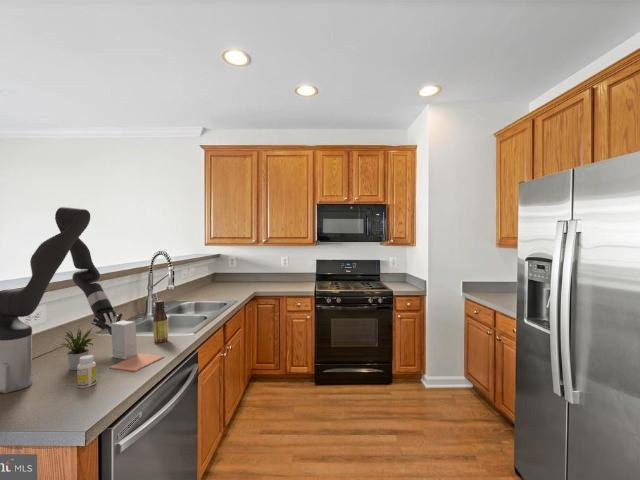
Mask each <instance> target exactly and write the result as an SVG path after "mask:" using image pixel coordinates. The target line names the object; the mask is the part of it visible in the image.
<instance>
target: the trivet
mask: <svg viewBox="0 0 640 480" xmlns="http://www.w3.org/2000/svg"><path fill="white" fill-rule="evenodd" d="M164 358H165V356H164V355H159V354H158V355H157V354H149V353H142V352H141V353H137V355H136V356H134V357H131V358H128V359H124V360H122V361H120V362H118V363H115V364H113V365H111V366H109V369H112V370H119V371H127V372H134V373H135V372H137V371H140V370H142V369H143V368H145V367H147V366H149V365H151V364H154V363H155V362H159V360H162V359H164Z"/></svg>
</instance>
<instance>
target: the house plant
mask: <svg viewBox="0 0 640 480" xmlns="http://www.w3.org/2000/svg"><path fill="white" fill-rule="evenodd" d="M80 328H81V325H79V327H78V328H77V333H76V338H75V337H74V335H73V332H72V331H71V330H69V329H65V332H64V333H65V334H63V333H62V332H60V334H61V335H62V336H64V337H63V339H64V340H66V342H67V343H68V344H67V343H66V342H65V343H61V344H60V345H59V347H60V346H61V347H62V348H64V347H66V348H67V349H68V352H67V353H66V356H67V361H68V366H69V370H71V371H77V366H78V365H79V364H80V357H82V356H86V355H89V351H90V349H89V347H88V346H89V345H90V346H92V347H94V344H93V342H92V341H93V339H94V337H93V338H87V337H88V336H89V335H90V334H91V332H92V330H93V329H94V328H95V326H93V327H91V328H90V329H88V331H87V332H86V333H85V334H83V337H82V330H81V329H80ZM84 330H86V328H84ZM68 331H69V332H68ZM52 333H58V334H59V332H57V331H56V332H55V331H54V332H52ZM67 337H68V338H67Z"/></svg>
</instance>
